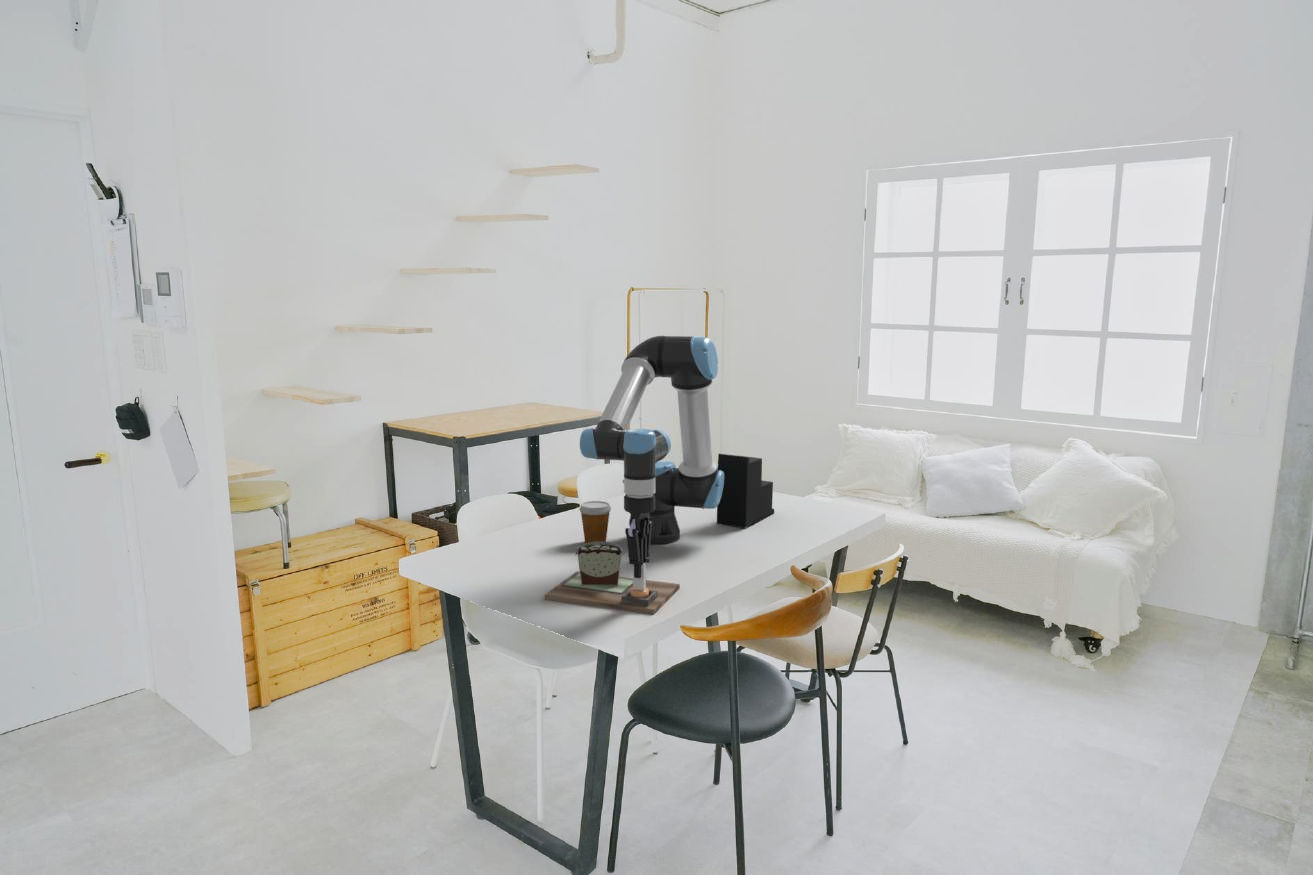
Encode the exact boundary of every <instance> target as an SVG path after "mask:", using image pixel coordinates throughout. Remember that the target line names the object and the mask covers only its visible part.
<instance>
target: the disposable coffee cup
mask: <svg viewBox="0 0 1313 875" xmlns="http://www.w3.org/2000/svg"><path fill="white" fill-rule="evenodd" d="M578 510H579V511H580V515H581V516H580V517H581V520H582V521H581V522H582V531H583V537H584V543H589V542H607V538H608V537H607V535H608V528H609V522H610V520H609V518H610V512H611V510H612V507H611V506H610V503H609V502H607V501H602V500H601V501H600V500H592V501H591V500H590V501H589V500H588V501H585V502H582V503H580V507H579V508H578Z"/></svg>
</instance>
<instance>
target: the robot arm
mask: <svg viewBox="0 0 1313 875" xmlns="http://www.w3.org/2000/svg"><path fill="white" fill-rule="evenodd" d="M718 360H719V359H718V354H717V350H716V346H715V344H714V342H713V341H712V339H710V338H709V337H706V336H705V337H703V336H697V335H694V336H682V335H681V336H680V335H679V336H678V335H677V336H676V335H675V336H673V335H672V336H671V335H669V336H666V335H657V336H656V335H655V336H651V337H649V338H647V339H645V340H643V341H642V342H640V343H639V344H638V345H636V346H635V347H634V348H633V349H632V350H631V351H630V352H629V353H628V354H627V355H626V357H625V359H624V360H623V362H622V365H621V370H620V371H621V375H620V377H619V379H618V381H617V383H616V386H615V388H614V390H613V391H612V394H611V395H610V397H609V400H608V402H607V404H606V405H605V408H604V410H603V412H602V415H601V417H600V419H599V420H598V423H597V424H596V427H595V428H594V427H591V428H586V429H584V430H583V431H582V432H581V434H580V437H579V450H580V453H581V455H582V457H584V458H587V459H594V460H597V461H598V460H603V461H604V460H605V461H606V460H607V461H608V460H609V461H623V479H622V484H623V493H624V494H625V495H624V496H623V510H624V512H627V513H628V514H630V517H629V522H628V526H629V527H628V528H627V527H625V530H624V533H625V536H626V542H627V543H626V544H627V551H628V552H627V553H628V563H629V565H632V574H633V575H632V576H633V577H632V578H633V589H634V590H642V591H644V590H645V589H646V580H647V579H646V578H647V575H646V574H647V563H650V553H651V545H652V544H653V545H654V544H655V545H658V544H659V545H661V544H671V543H675V542H677V541H678V540H680V539H681V529H680V526H679V523H678V520H677V517H676V511H675V510H676V509H675V507H678V508H679V507H680V508H681V507H683V508H691V509H692V508H694V509H696V508H697V509H702V510H705V509H706V510H708V509H709V510H710V509H711V510H713V509H717V506H718V504H719V502H720V499H721V496H722V491H723V486H724V472H723V471H721V470H719V471H718V462H716V461H715V460H714V459H713V458H712V456H713V455H712V441H711V440H712V439H711V426H710V409H709V394H708V393H709V392H708V388H709V387H710V386H711V385H712V383H713V379H716V377H717V376H718V369H719V367H718V364H719V361H718ZM655 378H670V382H671V387H672V388H673V389H675V390H676V391H677V401H678V414H679V426H680V428H679V429H680V439H681V452H682V461H681V463H680V464H679V465H678V467H676V464H675V462H673V461H662V460H663V459H665V458H666V456H668V454H669V453H670V451H671V449H672V448H671V447H672V444H671V443H672V442H671V439H670V437H669V435H668V434H667V433H666V432H664V431H663V430H659V429H648V428H634V429H628V428H629V426H630V424H631V421H632V419H633V417H634V414H635V412H636V410H637V408H638V406H639V403H640V401H641V399H642V397H643V395H644V393H645V391H646V388H647V386H648V385H651V384H652V383H653V381H654V379H655Z"/></svg>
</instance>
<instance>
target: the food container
mask: <svg viewBox="0 0 1313 875" xmlns="http://www.w3.org/2000/svg"><path fill="white" fill-rule="evenodd" d="M574 554H575V556H577V559H578V560H577V561H578V569H579V572H580V578H581V586H618V581H619V577H620V571H621V563H622V561H621V560H622V556H623V557H624V555H625V554H624V550H623V548H622V545H620V544H618V543H616V542H611V541H606V542H589V543H585V542H584V543H582V544H579V545H578V546H577V548H576V551H575V553H574Z"/></svg>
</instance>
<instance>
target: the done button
mask: <svg viewBox="0 0 1313 875" xmlns="http://www.w3.org/2000/svg"><path fill="white" fill-rule="evenodd" d="M648 596H649V589H648V588H646V589H645V590H644V591H642V590H634V589H633V588H632V589H631V597H636V598H644V599H646V598H647V597H648Z"/></svg>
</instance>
